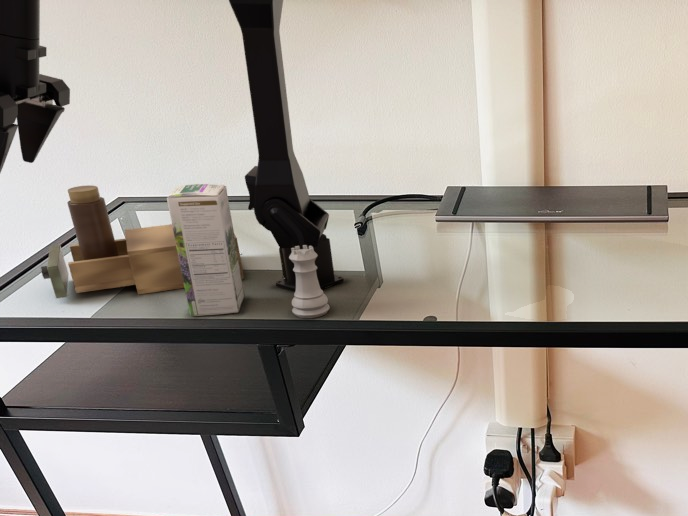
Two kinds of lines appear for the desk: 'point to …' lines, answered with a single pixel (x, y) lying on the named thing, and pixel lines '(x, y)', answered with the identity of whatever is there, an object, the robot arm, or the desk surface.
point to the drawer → (88, 270)
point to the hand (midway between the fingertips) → (11, 169)
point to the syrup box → (206, 248)
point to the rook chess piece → (307, 285)
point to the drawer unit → (156, 259)
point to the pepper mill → (91, 223)
